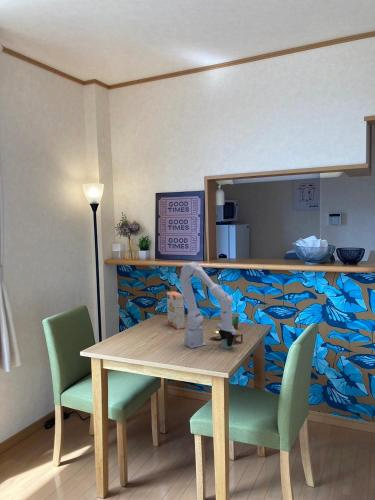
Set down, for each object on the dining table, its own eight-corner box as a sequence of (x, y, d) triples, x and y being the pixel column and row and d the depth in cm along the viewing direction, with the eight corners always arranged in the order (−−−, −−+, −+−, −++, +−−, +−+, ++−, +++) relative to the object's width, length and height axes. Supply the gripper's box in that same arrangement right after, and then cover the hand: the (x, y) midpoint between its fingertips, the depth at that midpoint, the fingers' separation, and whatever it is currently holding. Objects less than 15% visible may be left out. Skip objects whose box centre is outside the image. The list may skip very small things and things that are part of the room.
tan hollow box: (233, 344, 216) (232, 331, 216) (225, 341, 222) (225, 328, 221) (242, 342, 220) (242, 329, 219) (235, 339, 225) (234, 326, 225)
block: (226, 349, 210) (226, 341, 210) (221, 347, 214) (221, 339, 213) (232, 347, 212) (232, 340, 212) (228, 345, 216) (228, 338, 215)
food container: (217, 329, 246) (216, 313, 245) (221, 326, 251) (220, 310, 250) (236, 331, 240) (235, 315, 239) (240, 328, 245) (239, 312, 244)
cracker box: (167, 324, 261) (166, 291, 259) (176, 323, 263) (175, 290, 261) (176, 329, 248) (174, 295, 246) (185, 328, 251) (184, 294, 249)
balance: (215, 342, 222) (214, 333, 222) (207, 338, 229) (207, 330, 229) (242, 336, 231) (242, 328, 230) (234, 332, 238) (233, 325, 237)
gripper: (241, 320, 207) (241, 347, 208) (225, 315, 220) (225, 339, 221) (229, 323, 204) (230, 349, 205) (214, 317, 216) (214, 342, 218)
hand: (227, 344), depth 213 cm, fingers closed on block, 4 cm apart
